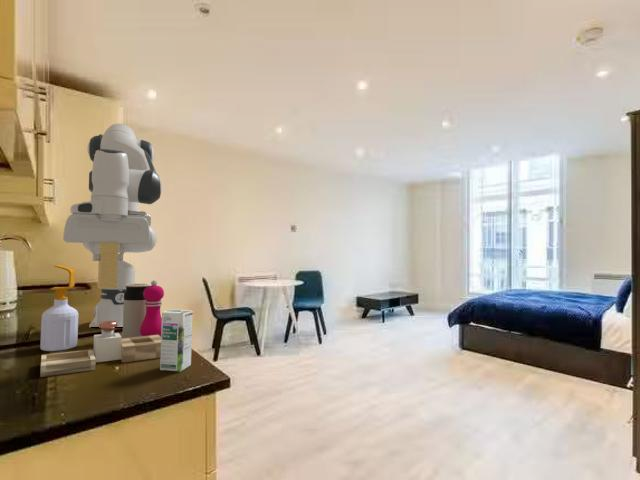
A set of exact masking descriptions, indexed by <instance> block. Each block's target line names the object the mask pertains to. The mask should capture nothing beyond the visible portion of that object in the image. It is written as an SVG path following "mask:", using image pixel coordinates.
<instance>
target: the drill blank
mask: <svg viewBox="0 0 640 480" xmlns="http://www.w3.org/2000/svg"><path fill="white" fill-rule="evenodd" d="M99 254H100V257H99V258H100V261H98V264H97V265H98V266H97V267H98V270H97V288H98V289H100V290H101V289H105V288H117V268H118V254H119V253H118V243H109V242H101V243H99Z"/></svg>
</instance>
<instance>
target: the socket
mask: <svg viewBox="0 0 640 480" xmlns="http://www.w3.org/2000/svg"><path fill="white" fill-rule="evenodd" d="M151 359H161V337H160V336H159V335H150V336H140V337H130V338H122V342H121V359H120V360H121V362H122V363H129V362H137V361H144V360H151Z"/></svg>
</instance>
